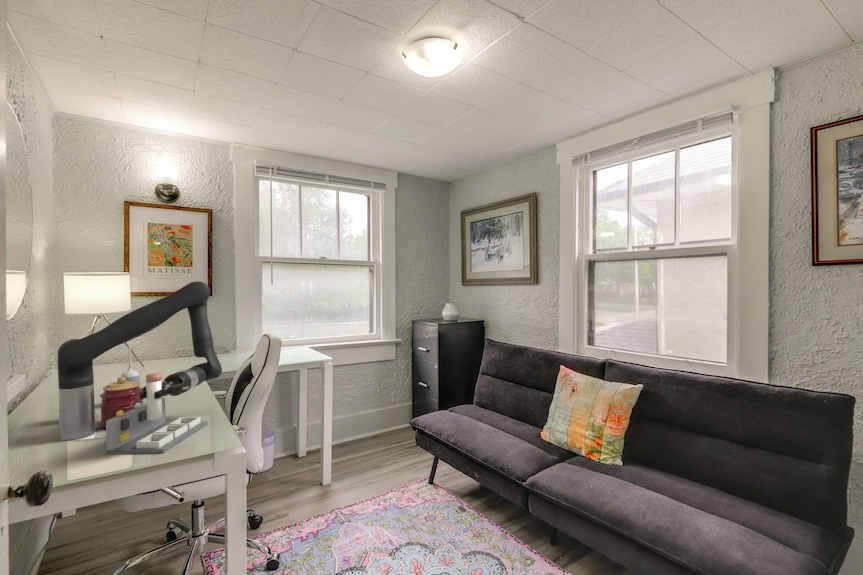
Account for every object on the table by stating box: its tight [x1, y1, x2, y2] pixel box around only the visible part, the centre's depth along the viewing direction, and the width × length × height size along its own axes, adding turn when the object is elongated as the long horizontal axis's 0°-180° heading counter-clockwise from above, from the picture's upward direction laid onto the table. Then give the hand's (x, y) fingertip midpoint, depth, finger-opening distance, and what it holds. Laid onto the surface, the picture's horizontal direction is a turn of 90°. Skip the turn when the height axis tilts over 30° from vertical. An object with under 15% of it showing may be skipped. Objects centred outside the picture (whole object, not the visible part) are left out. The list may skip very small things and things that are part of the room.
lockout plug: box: [145, 372, 163, 420], centre depth 131 cm, size 4×4×14 cm
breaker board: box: [104, 397, 209, 455], centre depth 139 cm, size 25×18×12 cm
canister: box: [99, 376, 144, 429], centre depth 154 cm, size 13×13×18 cm
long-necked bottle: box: [120, 346, 141, 388], centre depth 179 cm, size 8×8×25 cm
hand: (148, 395), depth 128 cm, fingers closed on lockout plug, 4 cm apart
